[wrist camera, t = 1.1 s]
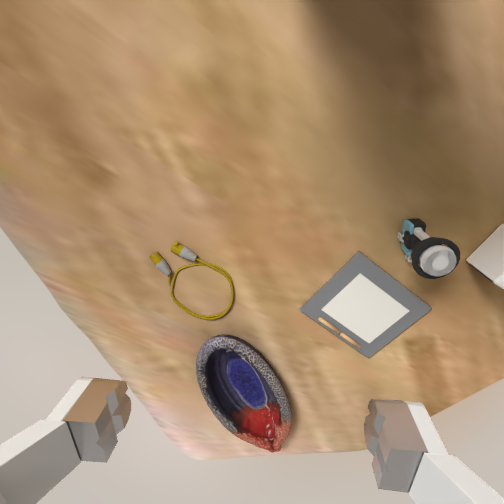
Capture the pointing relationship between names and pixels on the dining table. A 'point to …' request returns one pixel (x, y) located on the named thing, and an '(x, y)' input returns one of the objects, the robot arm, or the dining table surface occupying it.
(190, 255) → the extension cord
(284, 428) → the dish
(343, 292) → the grey board
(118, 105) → the dining table surface
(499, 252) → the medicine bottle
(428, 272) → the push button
